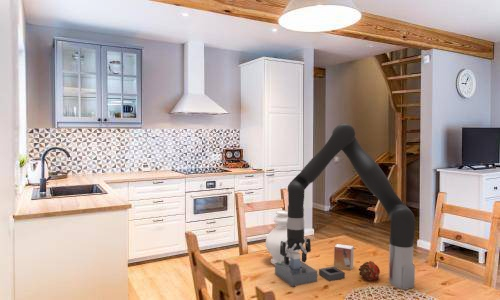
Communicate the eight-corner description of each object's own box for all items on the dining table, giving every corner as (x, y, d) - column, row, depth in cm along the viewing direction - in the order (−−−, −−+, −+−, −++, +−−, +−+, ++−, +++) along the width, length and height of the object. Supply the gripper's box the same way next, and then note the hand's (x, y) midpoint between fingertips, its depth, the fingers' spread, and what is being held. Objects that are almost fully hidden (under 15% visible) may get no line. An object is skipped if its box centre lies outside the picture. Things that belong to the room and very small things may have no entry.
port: (317, 282, 156) (317, 269, 156) (292, 287, 151) (292, 274, 151) (297, 269, 170) (297, 258, 170) (274, 273, 166) (275, 261, 165)
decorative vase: (308, 265, 176) (308, 214, 175) (275, 270, 170) (275, 217, 168) (290, 253, 193) (291, 207, 191) (259, 258, 186) (259, 209, 185)
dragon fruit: (367, 288, 153) (367, 281, 165) (384, 278, 152) (383, 272, 163) (355, 270, 155) (356, 265, 167) (372, 260, 154) (371, 255, 165)
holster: (344, 279, 159) (344, 272, 159) (329, 282, 156) (329, 275, 156) (333, 272, 167) (333, 266, 166) (318, 275, 163) (318, 268, 163)
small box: (333, 268, 172) (333, 246, 171) (336, 264, 177) (336, 243, 176) (350, 271, 168) (351, 249, 168) (353, 267, 173) (353, 245, 173)
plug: (300, 276, 160) (300, 254, 159) (294, 277, 159) (294, 254, 158) (296, 273, 163) (296, 251, 162) (290, 274, 162) (290, 252, 161)
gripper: (285, 230, 153) (285, 268, 154) (314, 227, 159) (313, 263, 160) (277, 226, 160) (277, 262, 161) (304, 223, 166) (304, 258, 167)
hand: (295, 263), depth 160 cm, fingers open, 8 cm apart
